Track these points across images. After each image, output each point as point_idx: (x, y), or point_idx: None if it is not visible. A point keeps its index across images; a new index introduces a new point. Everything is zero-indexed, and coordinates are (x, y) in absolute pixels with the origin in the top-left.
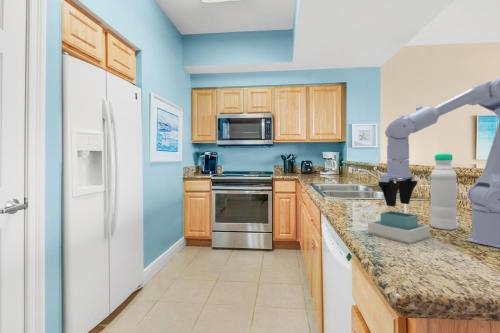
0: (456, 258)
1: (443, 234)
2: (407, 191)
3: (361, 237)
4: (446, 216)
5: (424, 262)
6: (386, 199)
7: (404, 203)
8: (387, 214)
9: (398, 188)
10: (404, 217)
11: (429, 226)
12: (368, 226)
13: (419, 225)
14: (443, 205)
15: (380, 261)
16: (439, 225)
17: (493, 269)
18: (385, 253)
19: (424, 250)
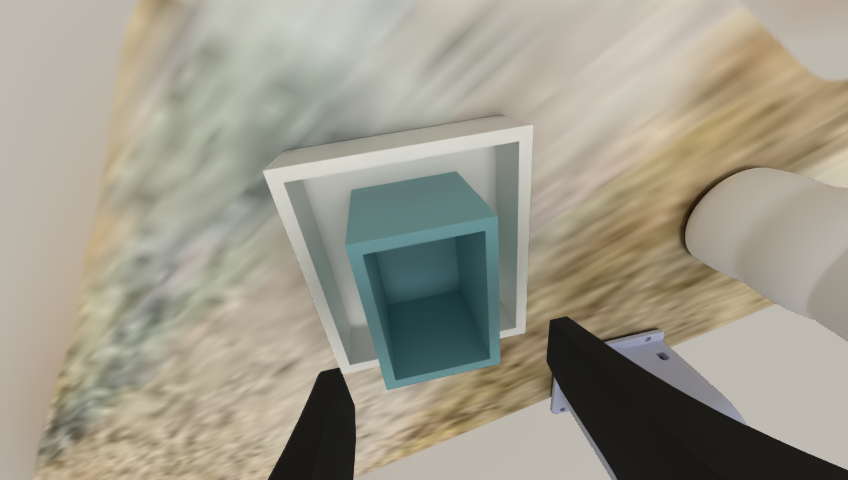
0: (363, 428)
1: (597, 282)
2: (631, 476)
3: (186, 195)
4: (747, 281)
5: (244, 435)
6: (303, 432)
7: (549, 344)
8: (359, 291)
9: (684, 447)
10: (383, 375)
11: (521, 331)
12: (272, 164)
13: (514, 300)
14: (823, 312)
15: (95, 416)
16: (696, 236)
17: (370, 469)
18: (166, 375)
19: None
